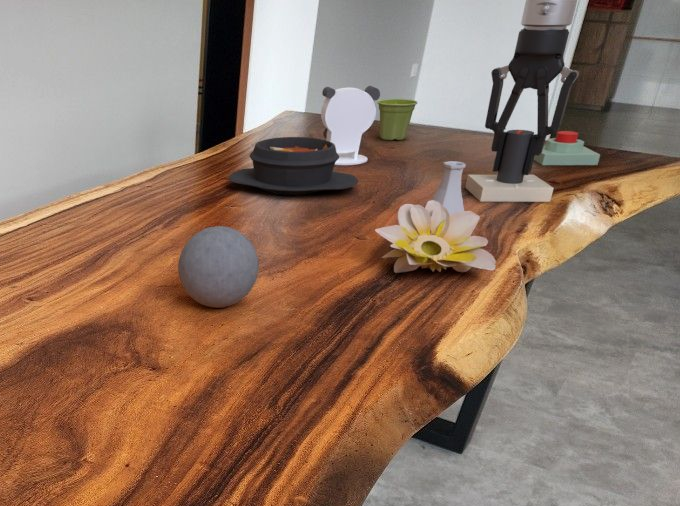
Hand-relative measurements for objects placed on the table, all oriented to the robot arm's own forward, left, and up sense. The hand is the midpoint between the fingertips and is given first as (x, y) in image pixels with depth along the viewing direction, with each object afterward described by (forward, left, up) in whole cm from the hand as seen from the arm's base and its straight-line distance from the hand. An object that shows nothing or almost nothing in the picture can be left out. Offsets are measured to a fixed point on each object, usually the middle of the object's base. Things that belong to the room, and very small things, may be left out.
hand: (511, 171), depth 131 cm
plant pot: (+11, -54, -4) cm, 55 cm away
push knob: (-20, -29, -1) cm, 35 cm away
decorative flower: (+23, +42, -4) cm, 48 cm away
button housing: (-20, -29, -4) cm, 35 cm away
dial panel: (0, 0, -4) cm, 4 cm away
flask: (+16, +20, -4) cm, 26 cm away
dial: (0, 0, -2) cm, 2 cm away
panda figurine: (+26, -30, -4) cm, 40 cm away
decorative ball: (+52, +55, -4) cm, 76 cm away
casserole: (+39, -4, -4) cm, 39 cm away
